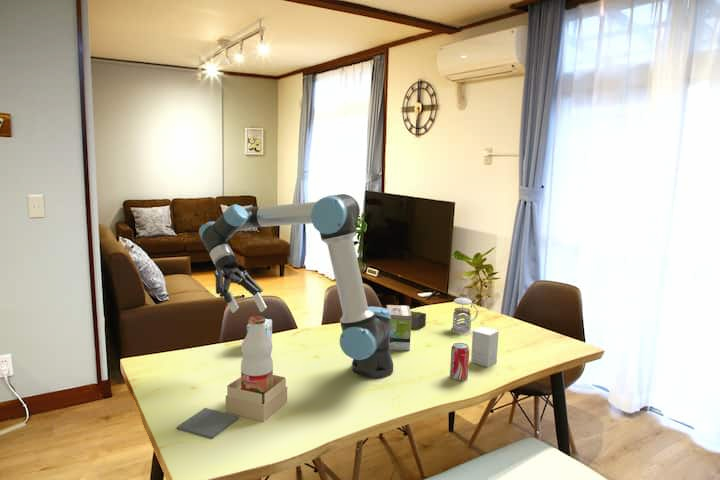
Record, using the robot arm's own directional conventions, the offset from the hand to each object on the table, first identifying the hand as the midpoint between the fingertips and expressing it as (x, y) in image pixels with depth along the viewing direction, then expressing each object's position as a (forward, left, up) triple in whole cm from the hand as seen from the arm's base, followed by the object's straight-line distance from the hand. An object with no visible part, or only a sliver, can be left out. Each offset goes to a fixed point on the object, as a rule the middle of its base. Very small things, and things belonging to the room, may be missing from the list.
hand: (250, 310), depth 168 cm
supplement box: (-71, -51, -25) cm, 90 cm away
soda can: (-65, -33, -25) cm, 77 cm away
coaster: (-6, +29, -24) cm, 39 cm away
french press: (-57, -84, -25) cm, 104 cm away
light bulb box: (+13, -26, -25) cm, 38 cm away
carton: (-13, +15, -24) cm, 32 cm away
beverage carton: (-30, -80, -25) cm, 89 cm away
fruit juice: (-13, +15, -25) cm, 32 cm away
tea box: (-35, -55, -25) cm, 69 cm away
